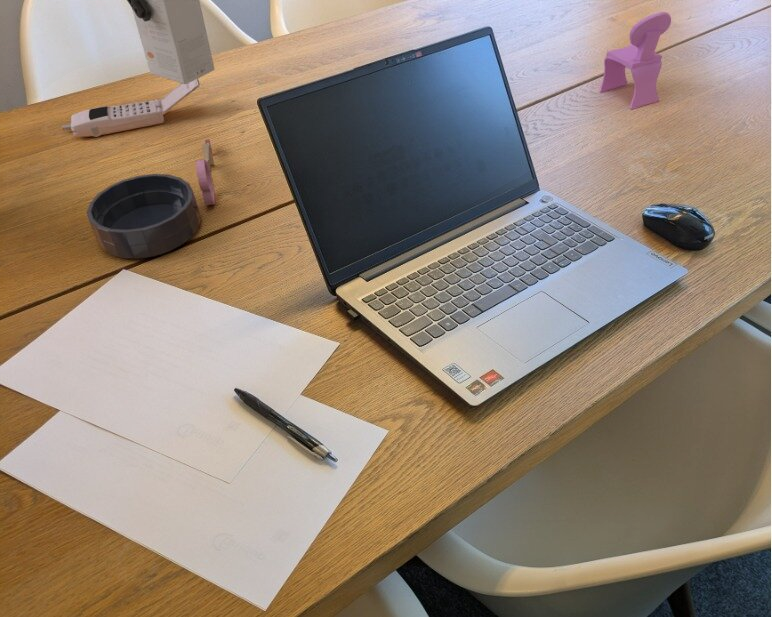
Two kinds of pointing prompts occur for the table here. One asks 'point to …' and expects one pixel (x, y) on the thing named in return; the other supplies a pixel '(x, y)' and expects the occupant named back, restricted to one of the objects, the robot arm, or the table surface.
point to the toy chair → (638, 60)
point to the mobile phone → (127, 114)
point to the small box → (175, 40)
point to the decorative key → (206, 174)
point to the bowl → (144, 216)
